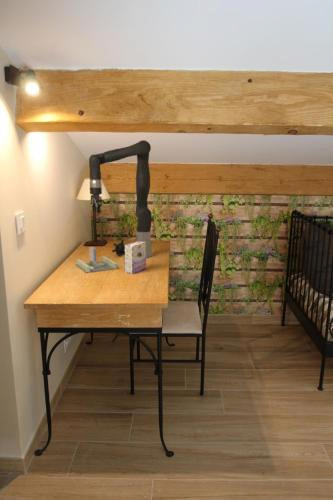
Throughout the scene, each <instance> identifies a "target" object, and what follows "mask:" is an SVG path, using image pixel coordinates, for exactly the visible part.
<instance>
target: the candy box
mask: <svg viewBox="0 0 333 500" xmlns="http://www.w3.org/2000/svg"><path fill="white" fill-rule="evenodd" d="M124 245H125V254H124V273H125V274H130V275H134V274H137V273H139V272H142V271H143V270H146V269H147V260H146V259H147V258H146V242H140V241H137V240H136V241H134V242H132V243H131V242H130V243H128V244H127V243H126V244H124Z"/></svg>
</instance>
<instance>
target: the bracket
mask: <svg viewBox="0 0 333 500" xmlns="http://www.w3.org/2000/svg"><path fill="white" fill-rule="evenodd" d="M88 254H89V255H88V256H89V259H88V260H89V262H88V263H90V267H92V268H98V267H103V266H105V264H103V263H97V262H98V260H97V258H98V257H97V248H96V247H94V246H88Z"/></svg>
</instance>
